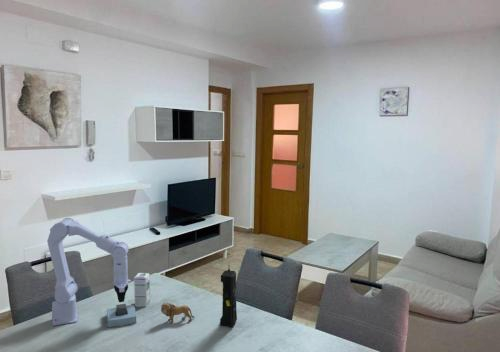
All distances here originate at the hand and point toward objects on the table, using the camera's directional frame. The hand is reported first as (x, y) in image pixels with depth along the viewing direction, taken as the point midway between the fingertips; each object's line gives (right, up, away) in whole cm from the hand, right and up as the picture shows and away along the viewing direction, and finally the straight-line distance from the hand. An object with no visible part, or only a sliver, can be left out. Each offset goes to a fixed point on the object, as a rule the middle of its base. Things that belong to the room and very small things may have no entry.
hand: (121, 301), depth 167 cm
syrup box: (+5, -7, +16) cm, 18 cm away
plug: (0, -8, +1) cm, 8 cm away
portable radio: (+47, -10, -1) cm, 48 cm away
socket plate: (0, -8, +1) cm, 8 cm away
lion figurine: (+24, -9, 0) cm, 26 cm away
